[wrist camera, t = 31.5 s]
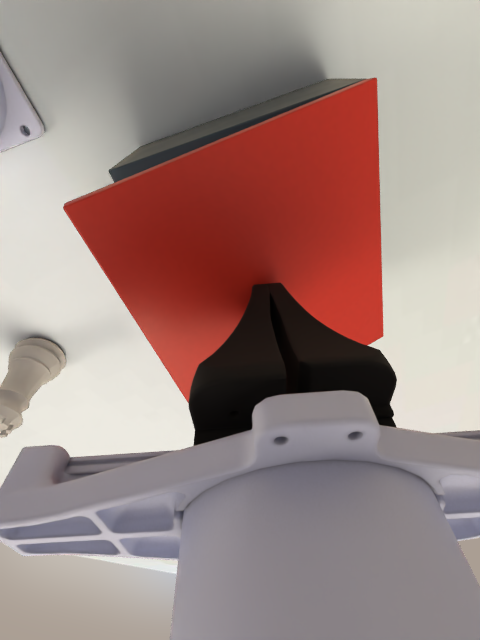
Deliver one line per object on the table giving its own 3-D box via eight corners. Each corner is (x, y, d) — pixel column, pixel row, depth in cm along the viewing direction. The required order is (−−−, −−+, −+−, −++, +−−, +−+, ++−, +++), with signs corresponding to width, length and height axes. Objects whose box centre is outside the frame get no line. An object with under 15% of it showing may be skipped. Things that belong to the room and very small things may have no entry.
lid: (206, 427, 19) (209, 436, 18) (63, 203, 10) (62, 207, 10) (375, 330, 20) (383, 336, 20) (364, 79, 12) (377, 76, 12)
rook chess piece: (55, 332, 28) (3, 406, 22) (76, 367, 31) (35, 442, 24) (6, 337, 28) (-59, 412, 22) (31, 371, 31) (-20, 446, 24)
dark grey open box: (213, 315, 27) (210, 368, 22) (139, 146, 19) (107, 170, 14) (348, 280, 25) (377, 329, 20) (328, 78, 17) (367, 77, 12)
